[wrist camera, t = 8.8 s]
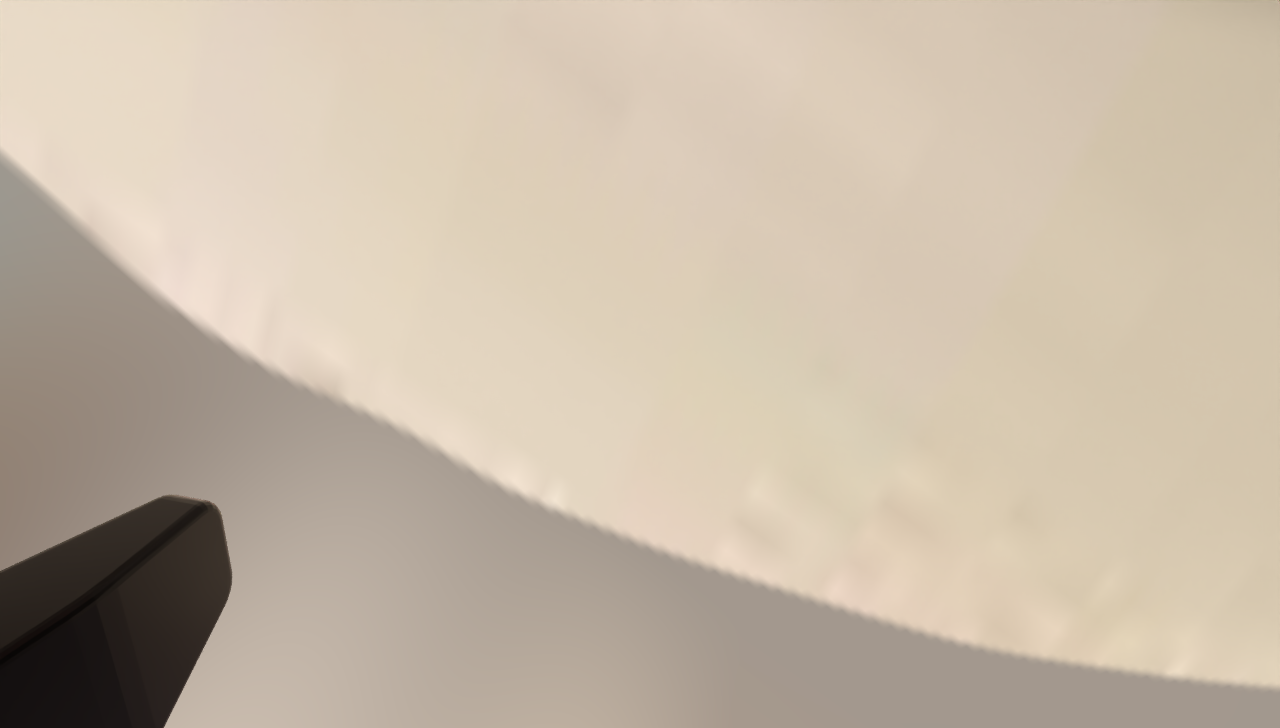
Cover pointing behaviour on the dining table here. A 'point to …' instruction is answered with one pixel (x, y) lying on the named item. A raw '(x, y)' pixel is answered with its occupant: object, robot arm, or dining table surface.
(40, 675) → the robot arm
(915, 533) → the dining table surface
